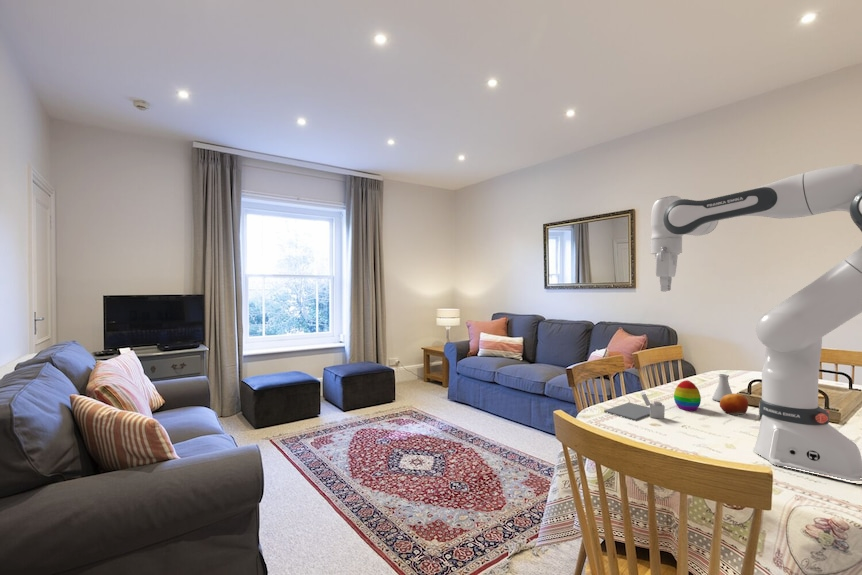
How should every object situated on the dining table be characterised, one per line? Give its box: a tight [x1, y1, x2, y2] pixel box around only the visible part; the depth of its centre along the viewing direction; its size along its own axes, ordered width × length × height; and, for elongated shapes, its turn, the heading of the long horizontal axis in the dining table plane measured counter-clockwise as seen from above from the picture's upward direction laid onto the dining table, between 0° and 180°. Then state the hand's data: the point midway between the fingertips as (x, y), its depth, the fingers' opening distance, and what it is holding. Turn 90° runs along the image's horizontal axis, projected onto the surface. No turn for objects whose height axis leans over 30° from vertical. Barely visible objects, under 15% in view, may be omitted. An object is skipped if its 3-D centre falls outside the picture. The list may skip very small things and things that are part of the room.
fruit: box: [719, 393, 749, 417], centre depth 142 cm, size 8×8×8 cm
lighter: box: [640, 391, 666, 420], centre depth 138 cm, size 7×2×8 cm, turn 72°
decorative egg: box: [673, 380, 702, 411], centre depth 148 cm, size 8×8×10 cm
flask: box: [711, 373, 733, 402], centre depth 157 cm, size 7×7×10 cm
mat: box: [604, 402, 650, 421], centre depth 144 cm, size 11×16×1 cm
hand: (665, 291), depth 133 cm, fingers open, 8 cm apart
